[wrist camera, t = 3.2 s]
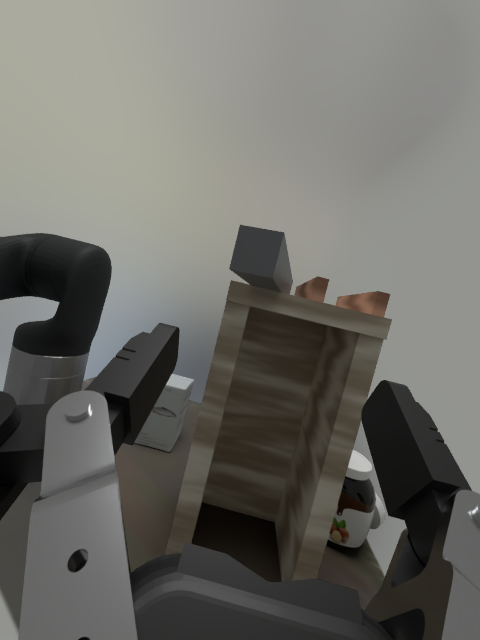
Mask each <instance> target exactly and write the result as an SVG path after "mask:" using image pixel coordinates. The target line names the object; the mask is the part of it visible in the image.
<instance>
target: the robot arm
mask: <svg viewBox="0 0 480 640" xmlns="http://www.w3.org/2000/svg"><path fill="white" fill-rule="evenodd" d="M111 269H112V267H111V260H110V258H109V255H108V254H107V252H106V251H105V250H104V249H103V248H101V247H99V246H96V245H93V244H89V243H85V242H82V241H77V240H73V239H69V238H65V237H61V236H58V235H53V234H44V233H35V234H24V235H16V236H7V237H0V300H3V299H9V298H15V297H23V296H34V297H42V298H46V299H49V300H54V301H58V302H60V303H59V306H58V309H57V311H56V314H55V316H54V317H53V318H51V319H49V320H46V321H35V322H27V323H24V324H21V325H19V326H18V327H17V329H16V331H15V334H14V339H13V345H12V349H11V354H10V359H9V364H8V369H7V375H6V379H5V384H4V389H3V392H1V391H0V520H1V519H2V517H3V516H4V515H5V513H6V512H7V511H8V509H9V508H10V507H11V505H12V504H13V503H14V501H15V500H16V499H17V497H18V496H19V495H20V493H21V492H22V491H23V489H24V488H25V486H26V485H27V484H28V483H30V482H40V481H42V485H41V493H40V496H39V498H38V499H36V500H35V501H34V503H33V506H32V510H31V516H30V524H29V535H28V545H27V556H26V566H25V577H24V587H23V598H22V608H21V618H20V629H19V639H18V640H480V494H478V493H476V492H473V491H472V490H471V488H470V486H469V484H468V482H467V481H466V479H465V477H464V475H463V474H462V472H461V470H460V468H459V466H458V465H457V463H456V461H455V459H454V458H453V456H452V454H451V452H450V450H449V449H448V447H447V445H446V444H444V440H443V438H442V436H441V434H440V433H439V432H437V430H438V429H437V427H436V425H435V424H434V422H433V420H432V418H431V416H430V415H429V414H428V413H427V412H426V411H425V410H424V409H423V407H422V406H421V405H420V404H419V403H418V402H415V400H414V398H413V396H412V394H411V392H410V390H409V389H408V387H407V386H405V385H402V384H398V383H394V382H390V381H386V380H383V381H381V382H380V383H379V384H378V386H377V387H376V388H375V390H374V392H373V393H372V394H371V396H370V397H369V399H368V400H367V401H366V403H365V404H364V406H363V408H362V412H361V420H362V424H363V427H364V431H365V435H366V438H367V442H368V445H369V449H370V452H371V456H372V459H373V463H374V466H375V470H376V473H377V477H378V481H379V484H380V488H381V491H382V494H383V498H384V501H385V505H386V509H387V512H388V515H389V516H391V517H395V518H399V519H402V520H405V523H406V526H407V528H406V529H405V530H403V532H402V533H401V536H400V539H399V541H398V544H397V547H396V549H395V552H394V555H393V557H392V560H391V562H390V565H389V568H388V570H387V574H386V576H385V578H384V581H383V584H382V586H381V588H380V590H379V591H378V593H377V594H376V595H375V596H374V598H373V599H372V600H371V601H370V603H369V604H368V606H367V608H366V609H365V611H364V610H363V609H362V608H361V607H360V602H359V596H358V591H357V590H354V589H350V588H347V587H343V586H339V585H336V584H332V583H329V582H325V581H322V580H318V579H315V578H314V579H304V580H293V581H283V582H269V581H266V580H265V579H263V578H262V577H260V576H259V575H257V574H256V573H254V572H253V571H251V570H250V569H248V568H247V567H245V566H244V565H242V564H241V563H239V562H238V561H236V560H235V559H233V558H232V557H231V556H229V555H228V554H226V553H222V552H218V551H215V550H211V549H208V548H204V547H201V546H197V545H194V544H190V543H186V542H185V543H184V546H183V550H182V553H176V554H169V555H165V556H161V557H159V558H156V559H154V560H151V561H149V562H147V563H146V564H144V565H142V566H140V567H139V568H137V569H136V570H134V571H133V572H132V573H131V571H130V563H129V556H128V548H127V541H126V534H125V527H124V520H123V512H122V505H121V497H120V490H119V482H118V475H117V467H116V460H115V455H116V453H117V451H118V450H119V448H120V446H121V445H122V443H125V444H129V445H133V444H134V442H135V440H136V438H137V437H138V435H139V433H140V431H141V429H142V428H143V426H144V424H145V422H146V420H147V418H148V417H149V415H150V413H151V411H152V409H153V407H154V406H155V404H156V402H157V400H158V398H159V397H160V395H161V393H162V391H163V389H164V387H165V386H166V384H167V382H168V380H169V378H170V376H171V375H172V373H173V371H174V369H175V365H176V362H177V358H178V345H179V328H178V327H175V326H171V325H167V324H163V323H159V324H158V325H157V326H156V327H155V329H154V330H153V331H152V332H151V333H150V334H149V333H145V332H142V333H140V334H138V335H137V336H135V337H133V338H131V339H130V340H129V341H128V342H127V343H126V345H125V346H124V347H123V349H122V350H120V351H119V352H118V353H117V355H116V357H115V358H113V359H112V360H111V361H110V362H109V364H108V365H107V366H106V367H105V368H104V369H103V370H102V371H101V373H100V374H99V375H98V376H97V377H96V378H95V379H94V380H93V382H92V383H91V384H90V385H89V386H88V387H87V388H86V389H85V390H84V391H81V388H82V383H83V379H84V374H85V369H86V364H87V360H88V356H89V351H90V346H91V343H92V340H93V338H94V336H95V333H96V331H97V328H98V325H99V321H100V317H101V314H102V310H103V306H104V302H105V299H106V296H107V293H108V289H109V285H110V280H111Z"/></svg>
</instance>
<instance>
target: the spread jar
mask: <svg viewBox="0 0 480 640" xmlns="http://www.w3.org/2000/svg"><path fill="white" fill-rule="evenodd" d="M371 471H372V465H371V463H370V462H369V461H368V460H367V459H366V458H365V457H364V456H363V455H361V454H360V453H358V452H356V451H355V450H353V451H352V454H351V458H350V461H349V465H348V469H347V472H346V476H345V479H344V483H343V487H342V490H341V494H340V497H339V501H338V504H337V508H336V512H335V515H334V519H333V522H332V526H331V530H330V533H329V537H328V540H327V544H328V545H330V546H332V547H335V548H338V549H343V550H351V549H356V548H358V547H359V546H361V545H362V543H363V542H364V541H365V539H366V536H367V534H368V532H369V529H370V528H371V529H376V528H378V527H379V526H380V525H381V524H382V523H383V522H384V520H385V510H384V507H383V504H382V502H381V500H380V499H379V497H378V496H377V495H376V493H375V491H374V487H373V485H372V482H371V480H370V479H369V477H370V474H371Z"/></svg>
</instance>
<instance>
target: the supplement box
mask: <svg viewBox="0 0 480 640" xmlns="http://www.w3.org/2000/svg"><path fill="white" fill-rule="evenodd" d="M193 383H194V380H193V379H190V378H186V377H182V376H178V375H175V374H172V375H171V376H170V378H169V380H168V382H167V384H166V386H165V387H164V389H163V391H162V393H161V395H160V397H159V398H158V400H157V402H156V404H155V406H154V407H153V409H152V411H151V413H150V415H149V417H148V418H147V420H146V422H145V424H144V426H143V428H142V429H141V431H140V433H139V435H138V437H137V438H136V440H135V442H134V443H137V444H142V445H146V446H149V447H153V448H157V449H160V450H164V451H166V452H171V450H172V448H173V446H174V444H175V443H176V441H177V439H178V437H179V435H180V433H181V429H182V425H183V422H184V418H185V414H186V410H187V406H188V402H189V398H190V394H191V390H192V386H193Z"/></svg>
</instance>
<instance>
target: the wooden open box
mask: <svg viewBox="0 0 480 640" xmlns="http://www.w3.org/2000/svg"><path fill="white" fill-rule="evenodd" d="M328 282H329V279H325V278H321V277H316V278H314V279H312V280H310V281H308V282H306V283H304V284H302V285H300V286H297V288H296V291H295V296H293V295H289V294H285V293H281V292H277V291H273V290H269V289H265V288H261V287H256V286H252V285H248V284H244V283H240V282H236V281H231V282H230V287H229V291H228V295H227V299H226V300H227V301H226V305H225V310H224V314H223V318H222V322H221V326H220V330H219V334H218V338H217V342H216V346H215V350H214V355H213V359H212V363H211V367H210V371H209V375H208V379H207V383H206V388H205V392H204V396H203V400H202V404H201V408H200V412H199V416H198V420H197V424H196V429H195V433H194V437H193V441H192V445H191V449H190V453H189V457H188V461H187V466H186V470H185V474H184V478H183V482H182V486H181V490H180V494H179V498H178V503H177V507H176V511H175V515H174V519H173V523H172V527H171V531H170V535H169V540H168V544H167V548H166V552H165V555H169V554H176V553H182V550H183V546H184V543H185V542H186V543H190V544H191V542H192V538H193V534H194V531H195V527H196V523H197V519H198V515H199V511H200V507H201V504H202V502H203V503H207V504H210V505H214V506H217V507H221V508H225V509H228V510H232V511H236V512H239V513H243V514H246V515H250V516H254V517H257V518H261V519H265V520H268V521H272V522H275V527H276V537H277V546H278V555H279V564H280V574H281V582H283V581H293V580H304V579H314V578H315V579H317V576H318V573H319V569H320V565H321V562H322V558H323V555H324V551H325V547H326V544H327V540H328V537H329V533H330V530H331V526H332V522H333V519H334V515H335V512H336V508H337V504H338V501H339V497H340V494H341V490H342V487H343V483H344V479H345V476H346V472H347V469H348V465H349V461H350V458H351V454H352V451H353V447H354V443H355V440H356V436H357V433H358V429H359V426H360V422H361V412H362V408H363V406H364V404H365V403H366V401H367V397H368V393H369V390H370V386H371V383H372V379H373V375H374V372H375V368H376V365H377V361H378V358H379V354H380V350H381V346H382V343H383V340H384V339H387V335H388V332H389V328H390V325H391V321H392V320H391V319H387V318H384V315H385V311H386V308H387V304H388V300H389V297H390V294H388V293H383V292H379V291H377V292H369V293H362V294H355V295H348V296H341V297H338V299H337V302H336V306H334V305H330V304H326V303H323V301H324V297H325V294H326V290H327V286H328Z"/></svg>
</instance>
